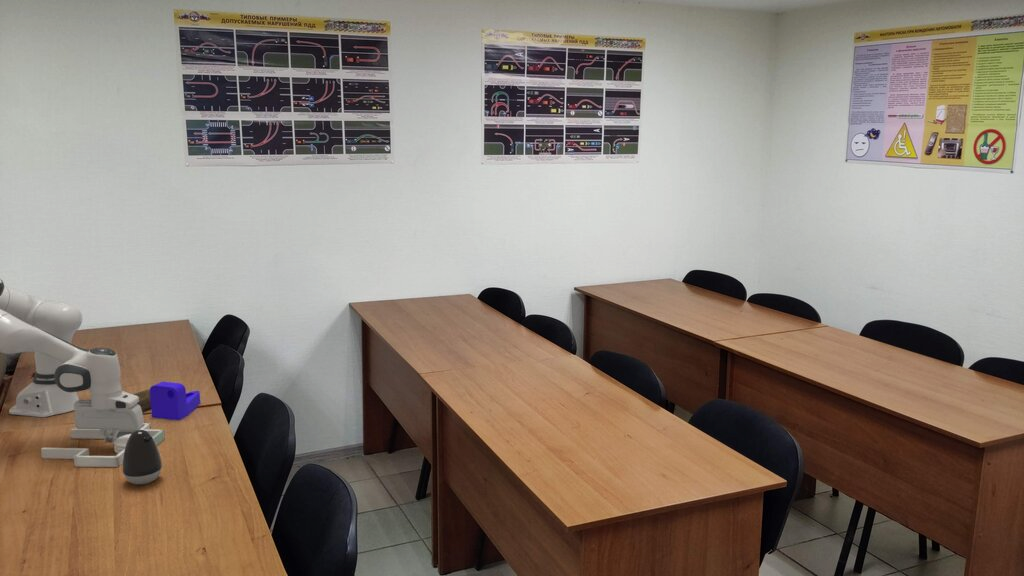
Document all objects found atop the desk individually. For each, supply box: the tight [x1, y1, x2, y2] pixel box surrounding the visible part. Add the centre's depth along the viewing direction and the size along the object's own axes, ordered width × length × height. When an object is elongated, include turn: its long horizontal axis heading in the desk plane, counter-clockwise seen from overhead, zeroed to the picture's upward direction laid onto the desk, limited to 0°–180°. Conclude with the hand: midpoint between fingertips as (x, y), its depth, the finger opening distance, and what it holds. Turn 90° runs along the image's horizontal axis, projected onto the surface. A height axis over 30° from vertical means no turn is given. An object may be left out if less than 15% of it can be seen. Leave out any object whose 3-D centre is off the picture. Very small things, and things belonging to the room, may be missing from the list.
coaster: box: [113, 434, 131, 455], centre depth 252 cm, size 10×10×4 cm
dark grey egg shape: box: [121, 430, 163, 485], centre depth 228 cm, size 10×10×15 cm
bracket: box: [149, 381, 201, 421], centre depth 286 cm, size 18×11×12 cm, turn 165°
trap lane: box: [40, 422, 166, 468], centre depth 252 cm, size 30×28×3 cm
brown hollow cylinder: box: [133, 389, 151, 412], centre depth 286 cm, size 15×7×7 cm, turn 162°
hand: (110, 441), depth 252 cm, fingers closed
